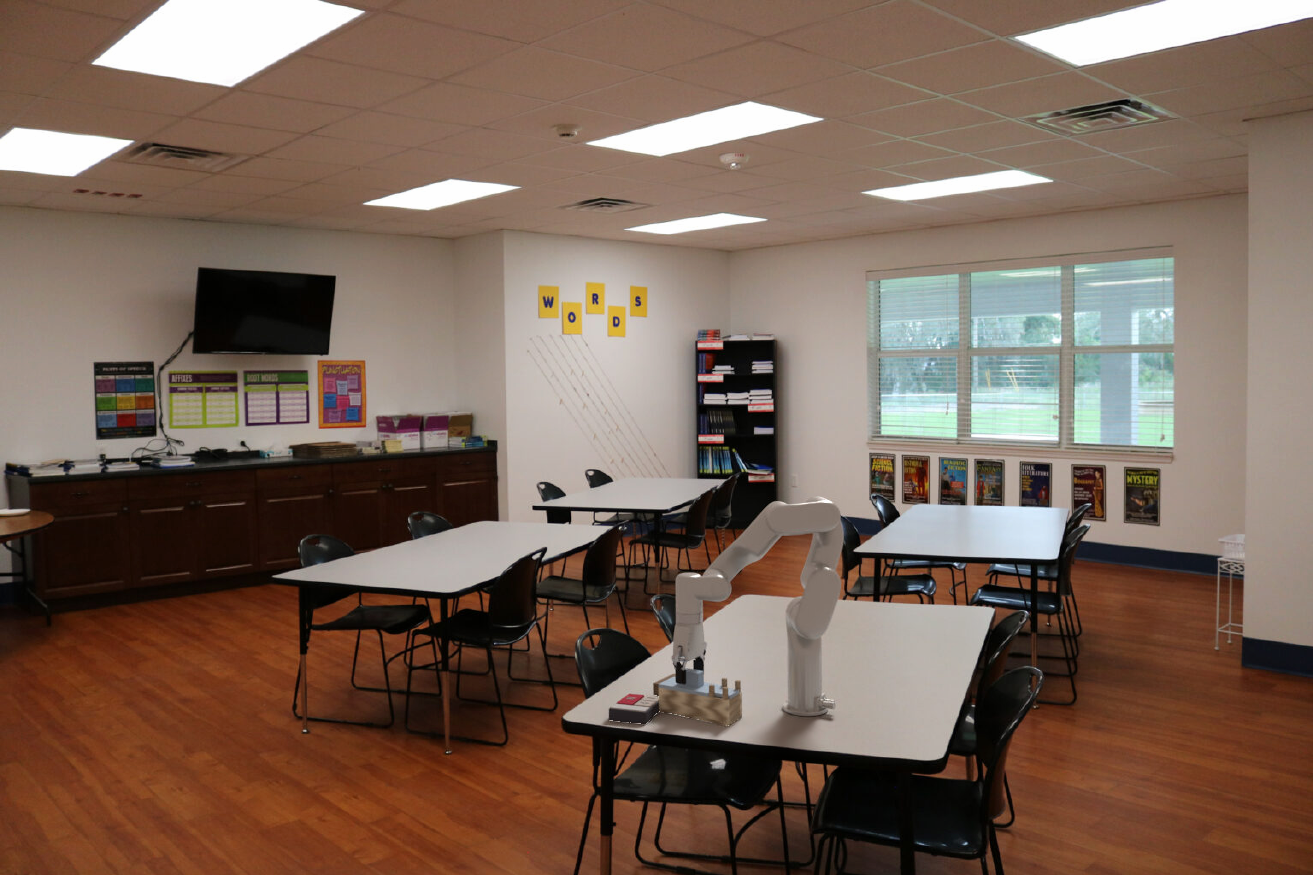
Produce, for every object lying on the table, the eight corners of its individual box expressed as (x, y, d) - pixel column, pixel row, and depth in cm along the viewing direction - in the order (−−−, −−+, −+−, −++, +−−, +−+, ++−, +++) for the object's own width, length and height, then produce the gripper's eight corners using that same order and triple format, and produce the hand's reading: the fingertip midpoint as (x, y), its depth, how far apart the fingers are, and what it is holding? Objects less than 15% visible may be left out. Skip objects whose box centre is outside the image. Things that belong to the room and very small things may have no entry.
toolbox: (742, 717, 255) (741, 680, 254) (727, 726, 248) (727, 688, 247) (674, 703, 267) (673, 668, 266) (659, 711, 260) (658, 676, 260)
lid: (741, 692, 254) (741, 674, 254) (727, 700, 248) (727, 682, 247) (673, 679, 266) (673, 662, 266) (658, 687, 260) (658, 669, 259)
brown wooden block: (680, 687, 282) (680, 674, 282) (660, 697, 273) (660, 684, 273) (673, 686, 283) (673, 673, 283) (653, 696, 274) (653, 683, 274)
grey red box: (664, 695, 264) (645, 709, 250) (664, 710, 264) (645, 725, 250) (628, 691, 268) (608, 705, 254) (628, 706, 268) (608, 721, 254)
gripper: (693, 610, 267) (694, 669, 268) (661, 622, 253) (661, 685, 253) (716, 613, 263) (717, 673, 264) (684, 626, 248) (685, 689, 249)
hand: (689, 678), depth 258 cm, fingers open, 9 cm apart
